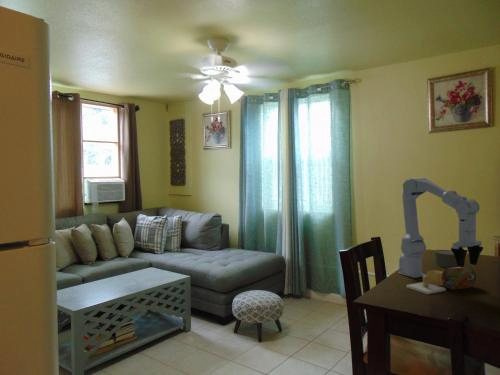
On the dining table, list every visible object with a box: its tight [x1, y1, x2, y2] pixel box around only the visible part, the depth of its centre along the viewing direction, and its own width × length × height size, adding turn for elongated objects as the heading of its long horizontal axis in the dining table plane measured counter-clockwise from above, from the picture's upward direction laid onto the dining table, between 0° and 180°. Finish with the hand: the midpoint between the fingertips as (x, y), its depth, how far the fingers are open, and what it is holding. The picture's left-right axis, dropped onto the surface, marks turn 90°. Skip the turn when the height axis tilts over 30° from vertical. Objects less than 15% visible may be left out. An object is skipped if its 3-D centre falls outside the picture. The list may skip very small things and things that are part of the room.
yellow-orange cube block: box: [426, 269, 444, 287], centre depth 152 cm, size 5×5×5 cm
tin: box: [442, 266, 477, 291], centre depth 146 cm, size 15×3×8 cm, turn 105°
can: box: [434, 249, 459, 269], centre depth 183 cm, size 12×12×7 cm
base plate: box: [406, 276, 447, 295], centre depth 145 cm, size 10×10×5 cm
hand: (467, 265), depth 142 cm, fingers open, 7 cm apart
